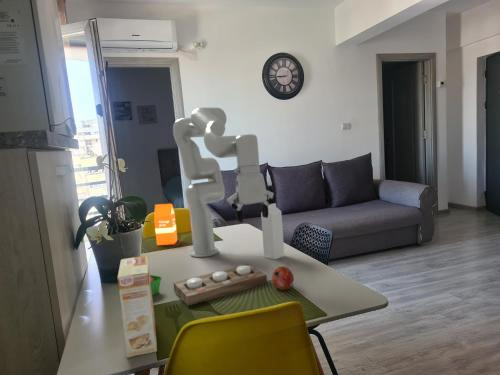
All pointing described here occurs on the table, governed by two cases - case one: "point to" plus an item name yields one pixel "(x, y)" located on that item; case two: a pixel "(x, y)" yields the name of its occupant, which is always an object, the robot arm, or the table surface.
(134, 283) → the coffeecake box
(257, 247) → the table surface
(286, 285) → the pomegranate
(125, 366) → the table surface
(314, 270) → the table surface
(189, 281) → the button end
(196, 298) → the button board
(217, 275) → the button middle
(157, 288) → the fruit basket
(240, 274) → the button end
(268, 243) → the milk
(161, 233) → the orange juice
